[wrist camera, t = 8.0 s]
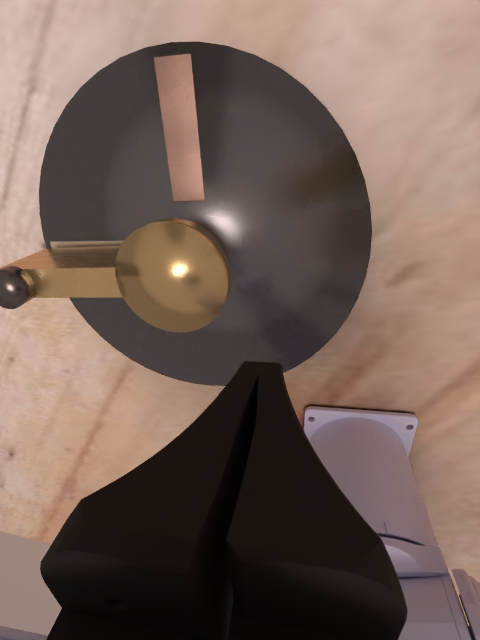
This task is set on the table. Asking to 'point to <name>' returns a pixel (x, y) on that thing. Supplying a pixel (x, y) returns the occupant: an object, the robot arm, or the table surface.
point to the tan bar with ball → (133, 275)
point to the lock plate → (214, 201)
